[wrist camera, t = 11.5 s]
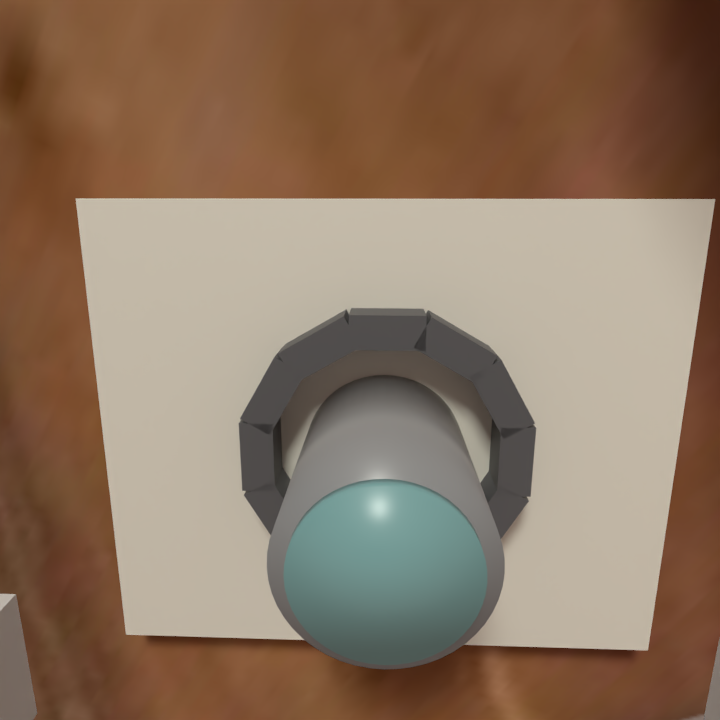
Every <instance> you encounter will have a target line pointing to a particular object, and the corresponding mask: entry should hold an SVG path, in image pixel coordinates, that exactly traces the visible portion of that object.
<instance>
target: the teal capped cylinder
mask: <svg viewBox="0 0 720 720" xmlns="http://www.w3.org/2000/svg"><path fill="white" fill-rule="evenodd" d="M267 574H268V581H269V585H270V589H271V593H272V595H273V598H274V600H275V602H276V605H277V607H278V608H279V610H280V612H281V613H282V615H283V617H284V618H285V620H286V621H287V622H288V623H289V625H290V626H291V627H292V628H293V629H294V630H295V631H296V632H297V633H298V634H299V635H300V636H301V637H302V638H303V639H304V640H305V641H307V642H308V643H309V644H311V645H312V646H313V647H315V648H316V649H318V650H320V651H321V652H323V653H325V654H326V655H328V656H331V657H333V658H335V659H337V660H340V661H343V662H346V663H349V664H352V665H356V666H361V667H366V668H374V669H402V668H409V667H415V666H419V665H423V664H427V663H430V662H432V661H435V660H438V659H440V658H442V657H444V656H446V655H448V654H450V653H452V652H454V651H455V650H457V649H458V648H460V647H461V646H463V645H464V644H466V643H467V642H468V641H469V640H470V639H471V638H472V637H474V636H475V635H476V634H477V633H478V631H479V630H480V629H481V628H482V627H483V626H484V625H485V623H486V622H487V620H488V619H489V617H490V616H491V614H492V613H493V611H494V609H495V606H496V604H497V602H498V600H499V597H500V594H501V590H502V587H503V581H504V574H505V558H504V551H503V545H502V542H501V539H500V535H499V532H498V529H497V527H496V524H495V521H494V519H493V516H492V513H491V511H490V508H489V505H488V503H487V500H486V497H485V494H484V492H483V489H482V486H481V484H480V481H479V478H478V476H477V473H476V470H475V468H474V465H473V462H472V459H471V457H470V454H469V451H468V449H467V446H466V443H465V441H464V438H463V435H462V433H461V430H460V427H459V424H458V422H457V420H456V418H455V416H454V414H453V412H452V411H451V409H450V408H449V406H448V405H447V404H446V403H445V402H444V400H443V399H442V398H441V397H440V396H439V395H437V394H436V393H435V392H434V391H432V390H431V389H429V388H428V387H426V386H425V385H423V384H421V383H419V382H417V381H414V380H411V379H408V378H405V377H400V376H394V375H374V376H368V377H363V378H360V379H357V380H354V381H352V382H350V383H347V384H345V385H344V386H342V387H340V388H339V389H337V390H336V391H335V392H333V393H332V394H331V395H330V396H329V397H328V398H327V399H326V400H325V401H324V402H323V403H322V404H321V406H320V407H319V409H318V410H317V412H316V413H315V415H314V417H313V419H312V422H311V424H310V427H309V430H308V433H307V436H306V438H305V441H304V444H303V447H302V450H301V452H300V455H299V458H298V461H297V464H296V466H295V469H294V472H293V475H292V477H291V480H290V483H289V486H288V489H287V491H286V494H285V497H284V500H283V503H282V505H281V508H280V511H279V514H278V517H277V519H276V522H275V525H274V528H273V531H272V534H271V537H270V540H269V545H268V551H267Z"/></svg>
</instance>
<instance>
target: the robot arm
mask: <svg viewBox="0 0 720 720" xmlns="http://www.w3.org/2000/svg"><path fill="white" fill-rule="evenodd" d="M36 714H37V710H36V704H35V698H34V693H33V687H32V682H31V676H30V670H29V665H28V659H27V654H26V648H25V642H24V637H23V631H22V626H21V620H20V614H19V609H18V603H17V598H16V594H0V720H33V719H34V717H35V716H36ZM704 720H720V639H719V644H718V649H717V654H716V659H715V664H714V669H713V674H712V680H711V685H710V690H709V695H708V700H707V705H706V710H705V715H704Z"/></svg>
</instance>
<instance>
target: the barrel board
mask: <svg viewBox="0 0 720 720" xmlns="http://www.w3.org/2000/svg"><path fill="white" fill-rule="evenodd" d="M714 204H715V199H76V205H77V214H78V223H79V231H80V240H81V249H82V257H83V266H84V274H85V283H86V292H87V300H88V309H89V318H90V326H91V335H92V344H93V352H94V361H95V370H96V378H97V387H98V396H99V404H100V413H101V422H102V430H103V439H104V448H105V456H106V465H107V474H108V482H109V491H110V500H111V508H112V517H113V526H114V534H115V543H116V552H117V560H118V569H119V578H120V586H121V595H122V604H123V612H124V621H125V630H126V635H156V636H189V637H222V638H255V639H288V640H304V639H303V638H302V637H301V636H300V635H299V634H298V633H297V632H296V631H295V630H294V629H293V628H292V627H291V626H290V625H289V623H288V622H287V621H286V620H285V618H284V617H283V615H282V613H281V612H280V610H279V608H278V607H277V605H276V602H275V600H274V598H273V595H272V593H271V589H270V585H269V581H268V574H267V551H268V545H269V540H270V537H271V534H272V531H273V528H274V525H275V522H276V519H277V517H278V514H279V511H280V508H281V505H282V503H283V500H284V497H285V494H286V491H287V489H288V486H289V483H290V480H291V477H292V475H293V472H294V469H295V466H296V464H297V461H298V458H299V455H300V452H301V450H302V447H303V444H304V441H305V438H306V436H307V433H308V430H309V427H310V424H311V422H312V419H313V417H314V415H315V413H316V412H317V410H318V409H319V407H320V406H321V404H322V403H323V402H324V401H325V400H326V399H327V398H328V397H329V396H330V395H331V394H332V393H333V392H335V391H336V390H337V389H339V388H340V387H342V386H344V385H345V384H347V383H350V382H352V381H354V380H357V379H360V378H363V377H368V376H374V375H394V376H400V377H405V378H408V379H411V380H414V381H417V382H419V383H421V384H423V385H425V386H426V387H428V388H429V389H431V390H432V391H434V392H435V393H436V394H437V395H439V396H440V397H441V398H442V399H443V400H444V402H445V403H446V404H447V405H448V406H449V408H450V409H451V411H452V412H453V414H454V416H455V418H456V420H457V422H458V424H459V427H460V430H461V433H462V435H463V438H464V441H465V443H466V446H467V449H468V451H469V454H470V457H471V459H472V462H473V465H474V468H475V470H476V473H477V476H478V478H479V481H480V484H481V486H482V489H483V492H484V494H485V497H486V500H487V503H488V505H489V508H490V511H491V513H492V516H493V519H494V521H495V524H496V527H497V529H498V532H499V535H500V539H501V542H502V545H503V551H504V558H505V574H504V581H503V587H502V590H501V594H500V597H499V600H498V602H497V604H496V606H495V609H494V611H493V613H492V614H491V616H490V617H489V619H488V620H487V622H486V623H485V625H484V626H483V627H482V628H481V629H480V630H479V631H478V633H477V634H476V635H475V636H474V637H472V638H471V639H470V640H469V641H468V642H467V643H466V644H464V645H486V646H519V647H552V648H585V649H618V650H648V646H649V639H650V632H651V626H652V619H653V612H654V606H655V599H656V592H657V586H658V579H659V572H660V565H661V559H662V552H663V545H664V539H665V532H666V525H667V519H668V512H669V505H670V499H671V492H672V485H673V479H674V472H675V465H676V458H677V452H678V445H679V438H680V432H681V425H682V418H683V412H684V405H685V398H686V392H687V385H688V378H689V372H690V365H691V358H692V351H693V345H694V338H695V331H696V325H697V318H698V311H699V305H700V298H701V291H702V285H703V278H704V271H705V265H706V258H707V251H708V244H709V238H710V231H711V224H712V218H713V211H714Z"/></svg>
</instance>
